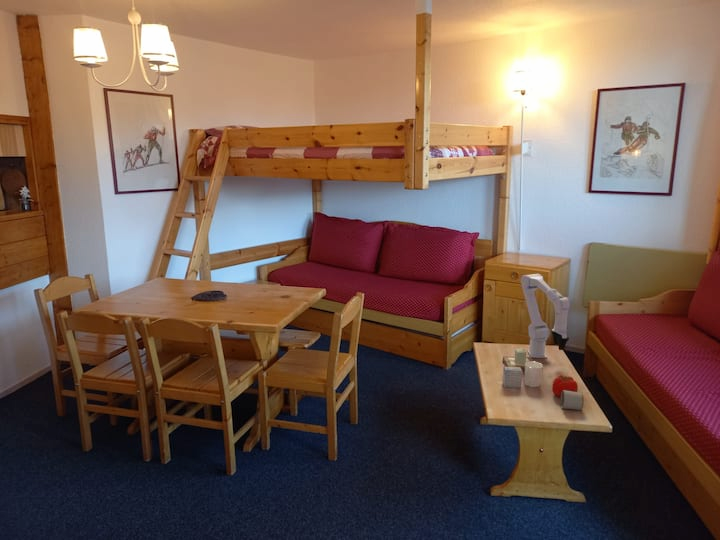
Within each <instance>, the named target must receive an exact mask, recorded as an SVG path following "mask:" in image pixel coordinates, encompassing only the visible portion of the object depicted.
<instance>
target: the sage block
mask: <svg viewBox="0 0 720 540" xmlns="http://www.w3.org/2000/svg"><path fill="white" fill-rule="evenodd" d="M514 357H515V362H516V363H521V364H525V363H526V357H527V351H526V350H525V348H515V350H514Z"/></svg>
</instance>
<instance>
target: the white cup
mask: <svg viewBox="0 0 720 540" xmlns="http://www.w3.org/2000/svg"><path fill="white" fill-rule="evenodd" d="M543 367H544V365H543V364H542V363H541V362H538V361H528V362H526V363H525V372H524V385H525V386H527V387H530V388H539V387H540V386H541V381H542V374H543Z"/></svg>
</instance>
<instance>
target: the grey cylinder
mask: <svg viewBox="0 0 720 540" xmlns="http://www.w3.org/2000/svg"><path fill="white" fill-rule="evenodd" d="M584 399H585V398H584V394H582V393H581V392H578V391H577V392H572V391H566V390H563V391H562V394H561V397H560V407H561V409H565V410H566V409H567V410H575V411H581V410H583V408H584V404H585V403H584V402H585V401H584Z"/></svg>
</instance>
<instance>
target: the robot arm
mask: <svg viewBox="0 0 720 540" xmlns="http://www.w3.org/2000/svg"><path fill="white" fill-rule="evenodd" d="M519 282H520V284H521V288H522V291H523V296H524V299H525V300H524V301H525V303H526V307H527V311H528V315H529V317H530V318H529V319H530V322H531V323H530V324H529V325H528V327H527V330H528V337H529V349H528V350H527V353H528V354H529V357H531V359H532V358H535V359H541V358H542V359H547V358H548V356H547V355H546V342H547V341H548V338H550V335H551V334H552V338H553V343H554V345H558V350H559V351H564V350H565V347H566V345H567V342H568V341H569V339H570V337H569V336H568V334H567V326H568V317H569V316H568V314H569V309H571V307H572V300H571V299H570V298H569V296H568V297H565V296H563V295H562V294H561V293H559V291H558V290H557V289H556V288H551V287H550V285H548V284H547V282H546V281H545V280H544V276H542V274H540V273H533V274H524V275H522V276H521V279H520V281H519ZM538 289H540V291H542V292H543V293H545V296H546V298H547V299H548V300H549V301H550V302H552V303H553V308H554V313H555V316H554V325H553V328H552V329H551V330H550V328H548V327H549V326H548V325H547V323H545V321H543V320H542V317H541V312H540V309H539V305H538V302H537V298H536V294H535V292H536V291H537V290H538Z"/></svg>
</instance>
